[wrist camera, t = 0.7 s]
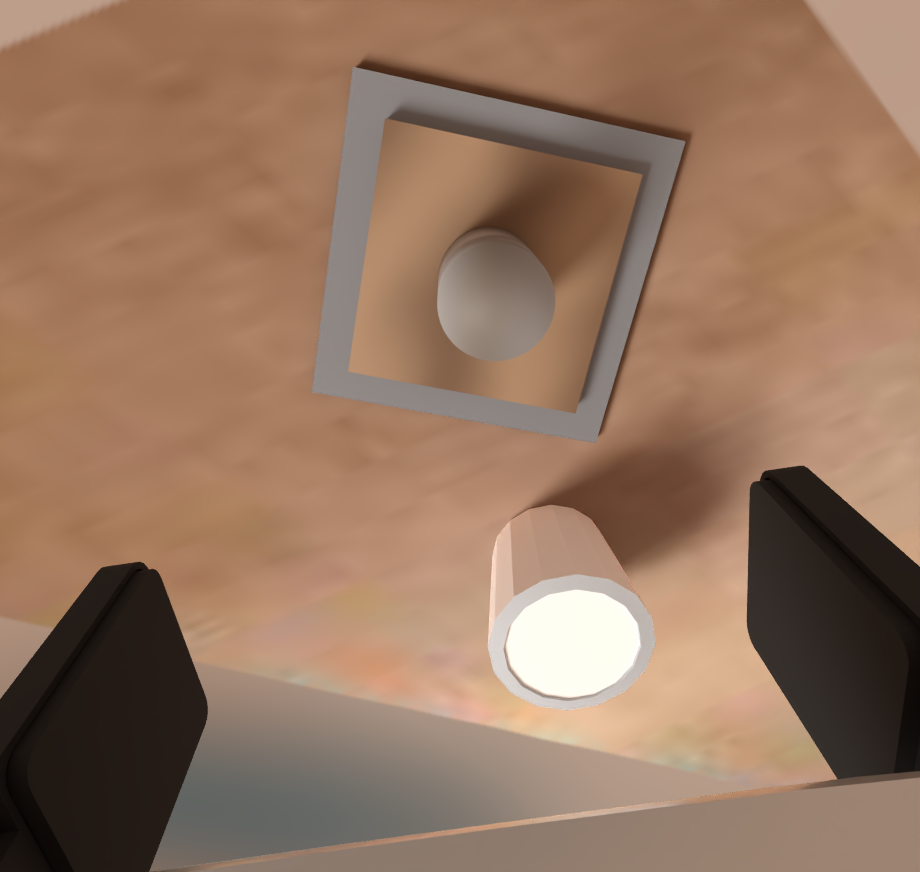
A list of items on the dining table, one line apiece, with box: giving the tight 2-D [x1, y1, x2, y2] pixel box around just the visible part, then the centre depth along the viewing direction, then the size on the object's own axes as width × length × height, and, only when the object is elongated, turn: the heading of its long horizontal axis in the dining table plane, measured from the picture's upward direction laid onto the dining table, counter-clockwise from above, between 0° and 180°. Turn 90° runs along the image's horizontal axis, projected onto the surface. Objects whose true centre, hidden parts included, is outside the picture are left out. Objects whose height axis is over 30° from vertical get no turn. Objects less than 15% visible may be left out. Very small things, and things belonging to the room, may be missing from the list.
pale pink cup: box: [488, 505, 655, 710], centre depth 32 cm, size 7×7×7 cm
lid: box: [348, 118, 643, 413], centre depth 26 cm, size 10×10×6 cm
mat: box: [312, 67, 686, 443], centre depth 29 cm, size 13×13×1 cm
